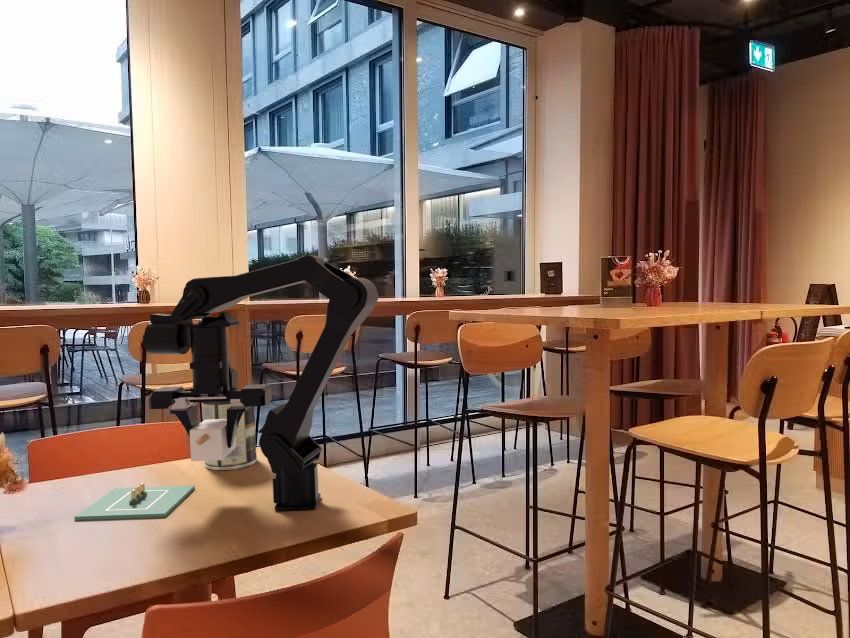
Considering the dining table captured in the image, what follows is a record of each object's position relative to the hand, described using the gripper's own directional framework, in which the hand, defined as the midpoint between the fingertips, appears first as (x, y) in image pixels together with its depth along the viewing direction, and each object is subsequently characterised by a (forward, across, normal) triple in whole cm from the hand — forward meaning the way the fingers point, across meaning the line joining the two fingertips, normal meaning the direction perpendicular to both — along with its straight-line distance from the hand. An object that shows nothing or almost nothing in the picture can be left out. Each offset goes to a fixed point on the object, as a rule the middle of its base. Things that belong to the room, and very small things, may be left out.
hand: (214, 447), depth 109 cm
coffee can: (+9, +4, -23) cm, 25 cm away
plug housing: (+1, 0, +2) cm, 2 cm away
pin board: (+9, +13, 0) cm, 16 cm away
